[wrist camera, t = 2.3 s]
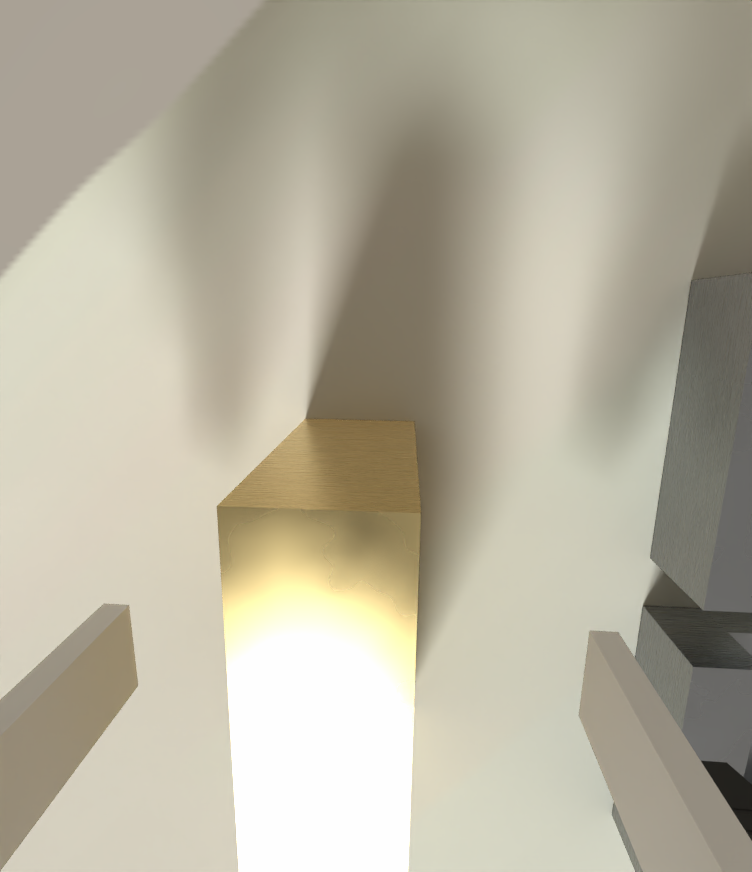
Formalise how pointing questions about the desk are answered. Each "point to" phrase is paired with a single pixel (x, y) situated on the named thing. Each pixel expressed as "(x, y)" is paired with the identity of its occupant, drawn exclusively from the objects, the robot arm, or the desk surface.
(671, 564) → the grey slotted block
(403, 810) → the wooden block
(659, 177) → the desk surface
